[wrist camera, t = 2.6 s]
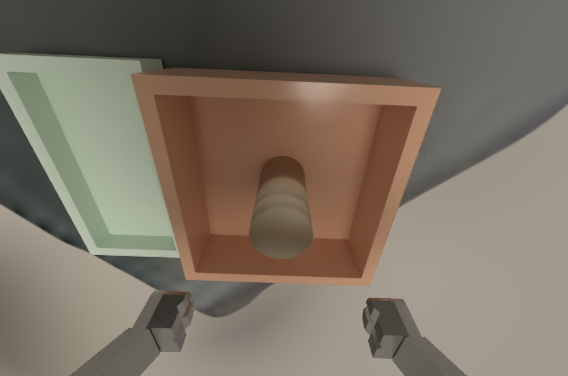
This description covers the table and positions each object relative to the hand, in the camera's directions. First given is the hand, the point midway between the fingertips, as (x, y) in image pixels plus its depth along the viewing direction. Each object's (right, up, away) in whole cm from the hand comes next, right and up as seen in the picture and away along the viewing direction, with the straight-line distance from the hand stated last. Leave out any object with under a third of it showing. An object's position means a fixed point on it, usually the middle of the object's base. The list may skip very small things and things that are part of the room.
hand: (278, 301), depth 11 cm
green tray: (-14, +7, +11) cm, 20 cm away
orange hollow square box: (0, +7, +11) cm, 13 cm away
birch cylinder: (0, +6, +11) cm, 12 cm away
